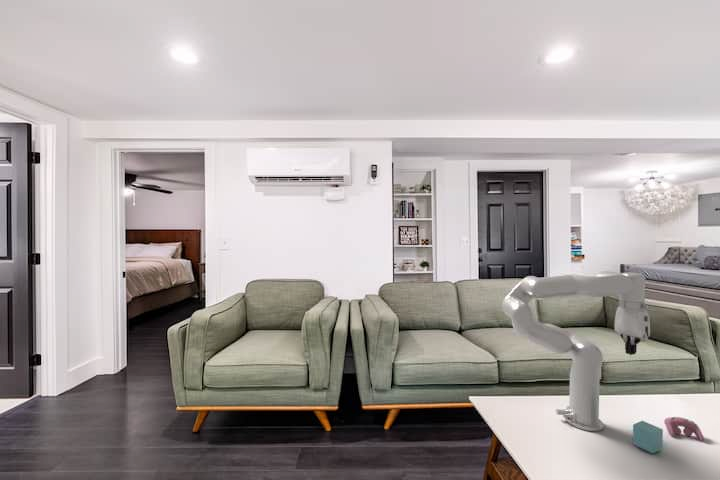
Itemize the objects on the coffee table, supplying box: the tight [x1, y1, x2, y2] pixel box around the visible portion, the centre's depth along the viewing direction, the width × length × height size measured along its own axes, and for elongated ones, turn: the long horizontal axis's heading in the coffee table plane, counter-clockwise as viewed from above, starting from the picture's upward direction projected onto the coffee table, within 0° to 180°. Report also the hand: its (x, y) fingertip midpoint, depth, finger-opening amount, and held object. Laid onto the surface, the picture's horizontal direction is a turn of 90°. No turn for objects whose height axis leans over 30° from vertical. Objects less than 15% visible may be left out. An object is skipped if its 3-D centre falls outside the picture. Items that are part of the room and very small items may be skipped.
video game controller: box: [663, 416, 705, 443], centre depth 123 cm, size 10×5×7 cm, turn 72°
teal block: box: [632, 420, 664, 454], centre depth 115 cm, size 6×6×7 cm
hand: (630, 353), depth 128 cm, fingers closed
